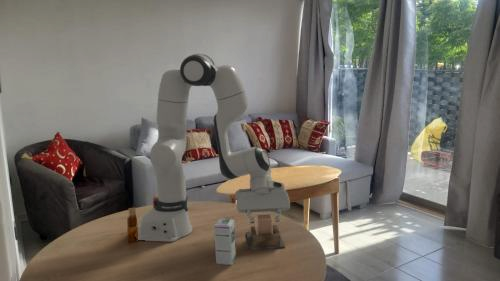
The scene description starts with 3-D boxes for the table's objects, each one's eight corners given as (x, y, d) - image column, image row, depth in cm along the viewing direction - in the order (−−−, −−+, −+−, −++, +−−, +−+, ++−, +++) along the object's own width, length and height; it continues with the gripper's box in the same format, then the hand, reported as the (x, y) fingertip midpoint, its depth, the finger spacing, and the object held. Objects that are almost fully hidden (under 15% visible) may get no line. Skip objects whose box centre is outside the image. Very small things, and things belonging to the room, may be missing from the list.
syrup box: (232, 265, 130) (231, 225, 127) (215, 263, 131) (213, 224, 128) (236, 256, 135) (235, 218, 132) (220, 255, 137) (218, 217, 133)
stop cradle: (249, 250, 140) (248, 238, 139) (246, 233, 152) (246, 222, 151) (284, 247, 141) (284, 236, 140) (279, 231, 153) (279, 220, 152)
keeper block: (259, 242, 144) (259, 220, 142) (258, 237, 148) (257, 215, 146) (271, 242, 144) (271, 219, 142) (269, 236, 148) (269, 214, 146)
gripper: (235, 185, 147) (237, 220, 140) (288, 183, 149) (292, 217, 142) (234, 192, 153) (236, 226, 145) (286, 190, 154) (290, 223, 147)
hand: (264, 222), depth 144 cm, fingers open, 8 cm apart
